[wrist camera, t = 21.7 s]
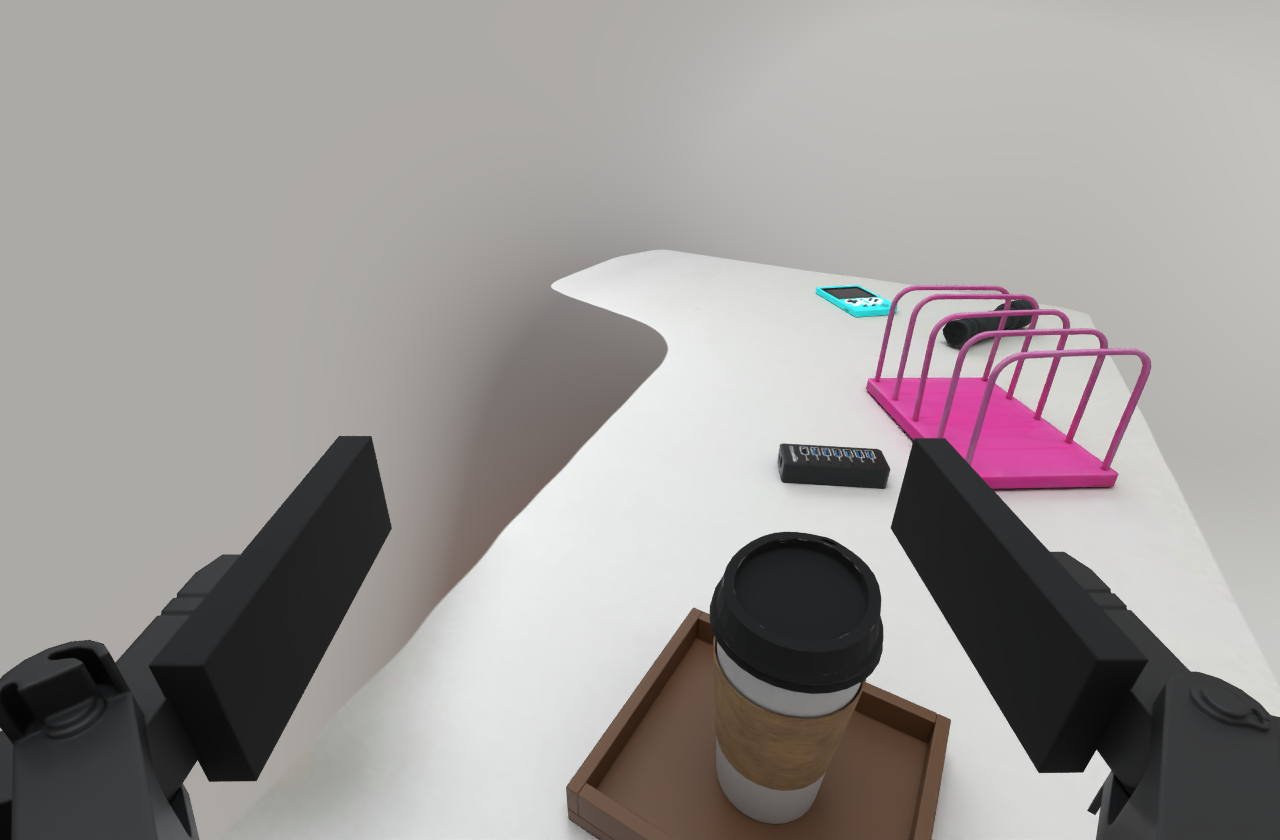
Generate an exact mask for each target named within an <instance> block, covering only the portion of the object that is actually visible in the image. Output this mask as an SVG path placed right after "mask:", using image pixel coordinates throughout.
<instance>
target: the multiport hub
mask: <svg viewBox="0 0 1280 840" xmlns="http://www.w3.org/2000/svg"><path fill="white" fill-rule="evenodd" d="M778 467H779V472H780V477H781V480H782V481H783V482H787V483H803V484H820V485H836V486H852V487H868V488H886V484H887V480H888V476H889V472H890V468H889V466H888V464H887V462H886V459H885V457H884V455H883V453H882V451H881V450H878V449H867V448H850V447H832V446H815V445H798V444H781V445H780V449H779V456H778Z"/></svg>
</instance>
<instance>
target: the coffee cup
mask: <svg viewBox="0 0 1280 840" xmlns="http://www.w3.org/2000/svg"><path fill="white" fill-rule="evenodd" d="M880 611H881V594H880V589H879V585H878V582H877V580H876V578H875V575H874V574H873V572H872V571H871V570H870V568H869V567H868V565H867V564H866V563H865V562H863V561H862V560H861V559H860V558H859V557H858V556H857V555H855V554H854V553H853V552H852V551H850V550H849V549H847V548H846V547H844V546H843V545H841V544H839V543H838V542H836V541H834V540H832V539H829V538H826V537H822V536H817V535H812V534H807V533H799V532H780V533H773V534H769V535H766V536H762V537H760V538H758V539H756V540H754V541H752V542H750V543H749V544H747V545H746V546H744V547H743V548H741V549H740V550H739V551H738V552H737V553H736V554H735V555H734V556H733V557H732V559H731V561H730V562H729V564H728V565H727V567H726V570H725V573H724V576H723V577H722V579H721V580H720V582H719V583H718V585H717V586H716V588H715V591H714V594H713V597H712V602H711V605H710V623H711V627H712V631H713V633H714V635H715V636H714V642H713V661H714V693H715V725H716V770H717V776H718V780H719V783H720V785H721V788H722V790H723V792H724V793H725V795H726V797H727V798H728V799H729V800H730V802H731V803H732V804H733V805H734V806H735V807H736V808H737V809H738V810H740V811H741V812H742V813H743V814H745V815H747V816H749V817H750V818H752V819H755V820H758V821H760V822H763V823H770V824H784V823H787V822H791V821H794V820H796V819H798V818H799V817H801V816H803V815H804V814H805V813H806V812H807V811H808V810H809V808H810V807H811V805H812V804H813V802H814V800H815V798H816V795H817V793H818V790H819V788H820V785H821V783H822V780H823V778H824V775H825V773H826V770H827V769H828V767H829V765H830V763H831V761H832V758H833V756H834V754H835V752H836V750H837V747H838V745H839V743H840V741H841V738H842V736H843V734H844V732H845V729H846V727H847V725H848V723H849V721H850V718H851V716H852V714H853V712H854V709H855V707H856V705H857V703H858V700H859V698H860V696H861V694H862V691H863V688H864V685H865V681H866V678H867V677H868V676H869V675H870V674H871V673H872V672H873V671H874V669H875V668H876V666H877V665H878V663H879V661H880V657H881V654H882V650H883V646H882V643H883V624H882V620H881V616H880Z"/></svg>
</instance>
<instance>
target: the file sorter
mask: <svg viewBox="0 0 1280 840" xmlns="http://www.w3.org/2000/svg"><path fill="white" fill-rule="evenodd" d="M914 290H996V291H1000V292H1002V293H1003V294H935V295H931V296H928V297H926V298H924V299H923V300H921V301H920V302H919V303H918V304H917V305H916V307H915V308H914V310H913V312H912V315H911V318H910V322H909V326H908V331H907V335H906V339H905V344H904V348H903V353H902V357H901V362H900V367H899V371H898V375H897V378H880V376H881V372H882V367H883V363H884V358H885V353H886V349H887V344H888V339H889V335H890V330H891V326H892V321H893V317H894V313H895V308H896V305H897V303H898V301H899V299H900V298H901V297H902V296H903V295H904V294H906V293H908V292H910V291H914ZM937 299H1005V300H1006V301H1005V307H1004V311H987V312H968V313H956V314H952V315H949V316H947V317H945V318H943V319H942V320H940V321H939V322H938V323H937V324H936V325H935V327H934V328H933V330H932V332H931V334H930V337H929V341H928V346H927V350H926V355H925V360H924V364H923V369H922V374H921V378H902V377H903V373H904V369H905V365H906V361H907V356H908V351H909V347H910V342H911V338H912V334H913V329H914V325H915V322H916V317H917V314H918V312H919V310H920V309H921V308H922V307H923V306H924V305H925V304H926V303H928V302H930V301H932V300H937ZM1011 299H1013V300H1017V299H1021V300H1027V301H1029V302H1030V303H1031V305H1032V307H1033V310H1009V309H1010V305H1011ZM1021 315H1032V319H1031V323H1030V326H1029V329H1028V330H1003V329H1004V326H1005V323H1006V319H1007V316H1021ZM1039 315H1057V316H1059V317H1060V318H1061V320H1062V321H1063V329H1035V326H1036V323H1037V320H1038V316H1039ZM998 316H1002V318H1001V321H1000V324H999V328H998V330H997V331H987V332H982V333H979V334H977V335H975V336H974V337H972V338H970V339H969V340H968V341H967V342H966V343H965V344H964V345H963V347H962V348H961V350H960V352H959V355H958V358H957V361H956V365H955V369H954V372H953V376H952V378H927V375H928V370H929V365H930V361H931V356H932V351H933V347H934V343H935V339H936V336H937V333H938V332H939V330H940V329H941V327H943V326H944V325H945V324H946V323H948V322H949V321H952V320H955V319H963V318H980V317H998ZM1076 334H1092V335H1096V336H1097V337H1098V338H1099V341H1100V349H1083V350H1063V349H1064V346H1065V343H1066V340H1067V337H1068V335H1076ZM1032 335H1061V337H1060V340H1059V343H1058V346H1057V350H1054V351H1033V352H1027V351H1028V347H1029V344H1030V342H1031V339H1032ZM1003 336H1026V338H1025V341H1024V344H1023V347H1022V350H1021V353H1016V354H1013V355H1011V356H1009V357H1007V358H1005V359H1004V360H1002V361H1001V362H1000V363H999V364H998V365H997V366H996V367H995V368H994V369H993V371H992V373H991V375H990V377H989V379H988V376H989V373H990V370H991V367H992V364H993V361H994V357H995V354H996V351H997V348H998V345H999V342H1000V339H1001V337H1003ZM987 337H995V340H994V343H993V347H992V350H991V353H990V356H989V359H988V362H987V365H986V368H985V372H984V375H983V378H959V376H960V372H961V368H962V364H963V361H964V358H965V355H966V353H967V351H968V350H969V348H970V347H971V346H972V345H973V344H974V343H976V342H977V341H979V340H981V339H984V338H987ZM1095 355H1098V357H1097V360H1096V362H1095V365H1094V367H1093V370H1092V373H1091V376H1090V378H1089V381H1088V383H1087V386H1086V388H1085V391H1084V393H1083V396H1082V399H1081V401H1080V404H1079V406H1078V409H1077V411H1076V414H1075V416H1074V419H1073V421H1072V424H1071V427H1070V429H1069V432H1068V434H1067V436H1066V435H1065V434H1063V433H1062V432H1061V431H1059V430H1058V429H1057V428H1055V427H1054V426H1052V425H1051V424H1050V423H1048V422H1047V421H1046V420H1044V419H1043V418H1042V417H1041V414H1042V411H1043V408H1044V406H1045V403H1046V400H1047V397H1048V394H1049V391H1050V388H1051V385H1052V382H1053V379H1054V376H1055V373H1056V370H1057V367H1058V364H1059V361H1060V358H1061V357H1067V356H1095ZM1106 355H1137V356H1138V357H1140V359H1141V361H1142V364H1143V366H1142V370H1141V374H1140V376H1139V378H1138V381H1137V383H1136V386H1135V388H1134V391H1133V393H1132V395H1131V398H1130V400H1129V402H1128V404H1127V407H1126V409H1125V411H1124V414H1123V416H1122V419H1121V421H1120V423H1119V426H1118V428H1117V430H1116V432H1115V435H1114V437H1113V440H1112V442H1111V445H1110V448H1109V450H1108V452H1107V455H1106V457H1105V459H1104V462H1102V461H1101V460H1099V459H1098V458H1096V457H1095V456H1094V455H1092V454H1091V453H1089V452H1088V451H1087V450H1085V449H1084V448H1083V447H1081V446H1080V445H1079V444H1077V443H1076V442H1074V441H1073V437H1074V435H1075V433H1076V430H1077V428H1078V425H1079V423H1080V420H1081V418H1082V415H1083V413H1084V410H1085V408H1086V405H1087V402H1088V400H1089V397H1090V395H1091V392H1092V390H1093V387H1094V385H1095V382H1096V379H1097V377H1098V374H1099V372H1100V369H1101V366H1102V364H1103V361H1104V359H1105V356H1106ZM1046 357H1054V359H1053V362H1052V365H1051V368H1050V372H1049V374H1048V377H1047V380H1046V383H1045V386H1044V389H1043V392H1042V395H1041V398H1040V400H1039V403H1038V406H1037V410H1036V413H1035V412H1033V411H1032V410H1031V409H1029V408H1028V407H1026V406H1025V405H1024V404H1022V403H1021V402H1020V401H1018V400H1017V399H1015V398H1014V397H1013V393H1014V390H1015V387H1016V384H1017V381H1018V378H1019V375H1020V372H1021V369H1022V366H1023V363H1024V360H1025V359H1027V358H1046ZM1016 360H1018V363H1017V366H1016V369H1015V372H1014V375H1013V378H1012V381H1011V384H1010V387H1009V390H1008V393H1007V392H1006V391H1005V390H1003V389H1002V388H1000V387H999V386H998V385H996V384H995V381H996V379H997V377H998V375H999V373H1000V372H1001V371H1002V370H1003V368H1005V367H1006V366H1007V365H1008V364H1010V363H1012V362H1014V361H1016ZM1150 369H1151V361H1150V358H1149V357H1148V355H1146V354H1145V353H1144V352H1142V351H1140V350H1137V349H1132V348H1119V349H1108V342H1107V339H1106V337H1105V336H1104V335H1103V334H1102V333H1101V332H1099V331H1097V330H1094V329H1070V322H1069V319H1068V317H1067V316H1066V315H1065V314H1064V313H1062V312H1061V311H1058V310H1054V309H1039V306H1038V303H1037V302H1036V300H1034V299H1033V298H1032V297H1030V296H1027V295H1021V294H1009V293H1008V291H1007V290H1006V289H1004V288H1002V287H999V286H987V285H921V286H920V285H918V286H910V287H907V288H905V289H903V290H902V291H901V292H899V293H898V294H897V295H896V297H895V298H894V300H893V302H892V304H891V307H890V312H889V316H888V320H887V325H886V329H885V334H884V339H883V344H882V348H881V353H880V358H879V362H878V367H877V372H876V377H875V378H870V379H868V383H867V387H866V389H867V390H868V391H869V392H870V393H871V394H872V396H873V397H874V398H875V399H876V400H877V401H878V402H879V403H880V404H881V405H882V407H883V408H884V409H885V410H886V411H887V412H888V413H889V414H890V415H891V416H892V417H893V418H894V420H895V421H896V422H897V423H898V424H899V425H900V426H901V427H902V428H903V429H904V430H905V432H906V433H907V434H908V435H909V436H910V437H911V438H912V439H913V440H914V438H946V440H947V441H948V442H949V443H950V444H951V445H952V446H953V447H954V448H955V449H956V450H957V452H958V453H959V454H960V455H961V456H962V457H963V458H964V459H965V460H966V461H967V462H968V464H969V465H970V466H971V467H972V468H973V469H974V470H975V471H976V472H977V473H978V474H979V475H980V477H981V478H982V479H983V480H984V481H985V482H986V483H987V484H988V485H989V486H990V487H991V489H999V488H1045V487H1110V486H1114V484H1115V481H1116V479H1117V476H1118V473H1117V472H1116V471H1114V470H1113V469H1112V468H1110V465H1111V463H1112V460H1113V458H1114V456H1115V453H1116V451H1117V449H1118V446H1119V444H1120V442H1121V439H1122V437H1123V435H1124V432H1125V430H1126V428H1127V426H1128V423H1129V421H1130V419H1131V416H1132V414H1133V412H1134V409H1135V407H1136V405H1137V402H1138V400H1139V398H1140V395H1141V393H1142V390H1143V388H1144V386H1145V383H1146V381H1147V378H1148V376H1149V374H1150Z"/></svg>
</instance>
